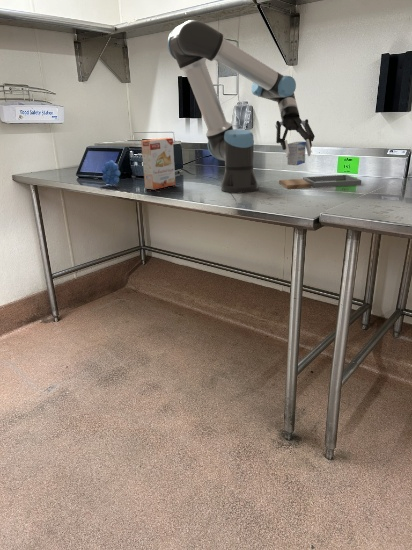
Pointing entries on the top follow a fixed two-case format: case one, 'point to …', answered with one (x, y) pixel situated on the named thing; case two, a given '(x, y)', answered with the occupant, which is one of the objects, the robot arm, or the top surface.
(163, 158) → the cracker box
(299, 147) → the medicine box
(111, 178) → the grapes
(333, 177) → the bin
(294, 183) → the walnut board
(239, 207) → the top surface
